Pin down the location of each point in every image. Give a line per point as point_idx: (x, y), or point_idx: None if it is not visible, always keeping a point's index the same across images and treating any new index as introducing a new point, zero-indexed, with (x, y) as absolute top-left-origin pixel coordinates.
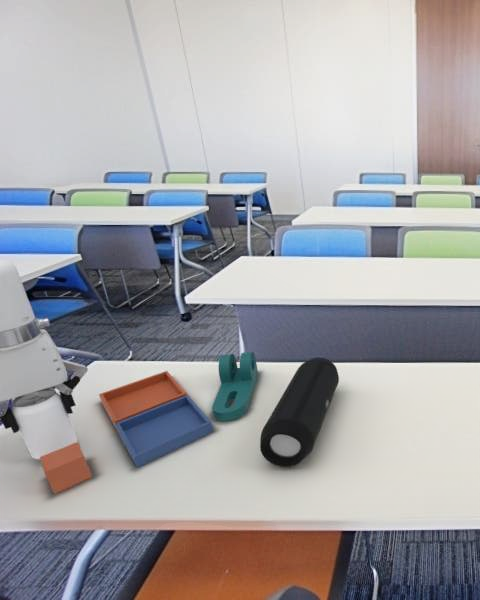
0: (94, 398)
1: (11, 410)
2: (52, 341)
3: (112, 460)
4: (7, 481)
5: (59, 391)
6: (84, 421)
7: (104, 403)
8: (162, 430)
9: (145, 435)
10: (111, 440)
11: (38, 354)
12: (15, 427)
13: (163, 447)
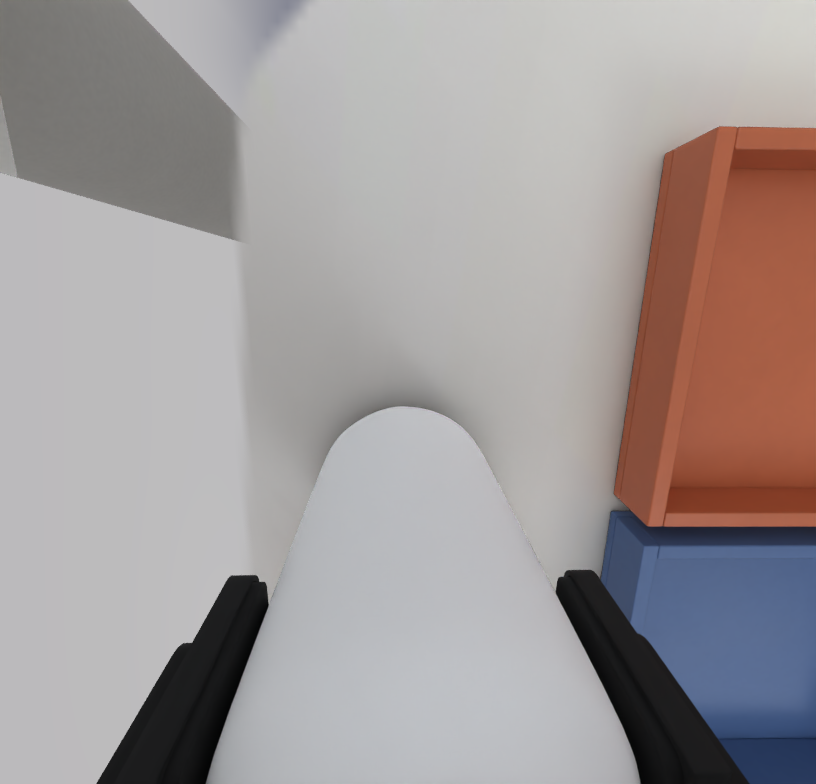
0: (657, 39)
1: (203, 752)
2: None
3: None
4: (247, 525)
5: (672, 778)
6: (542, 291)
7: (691, 297)
8: (728, 633)
9: (673, 620)
10: (573, 538)
11: None
12: None
13: None
